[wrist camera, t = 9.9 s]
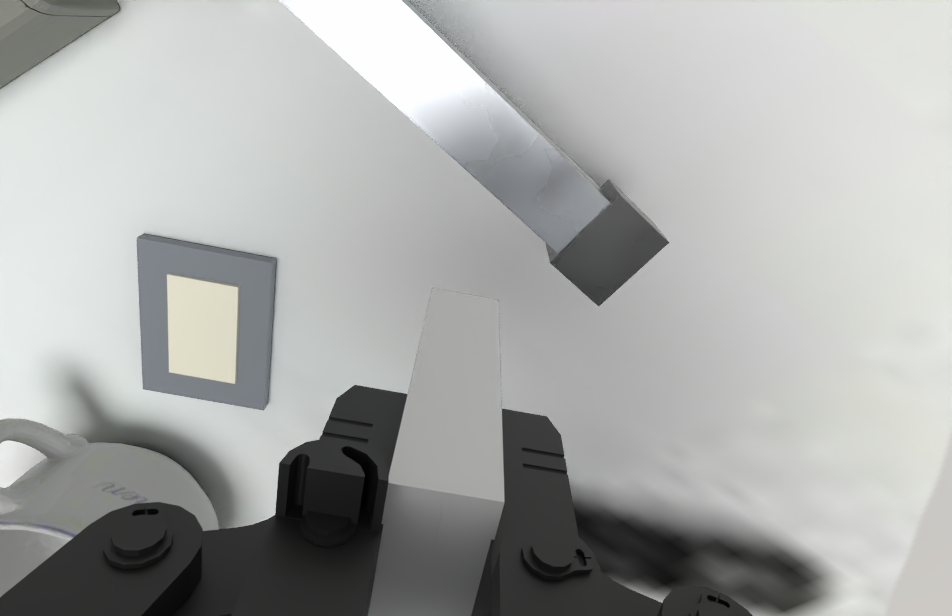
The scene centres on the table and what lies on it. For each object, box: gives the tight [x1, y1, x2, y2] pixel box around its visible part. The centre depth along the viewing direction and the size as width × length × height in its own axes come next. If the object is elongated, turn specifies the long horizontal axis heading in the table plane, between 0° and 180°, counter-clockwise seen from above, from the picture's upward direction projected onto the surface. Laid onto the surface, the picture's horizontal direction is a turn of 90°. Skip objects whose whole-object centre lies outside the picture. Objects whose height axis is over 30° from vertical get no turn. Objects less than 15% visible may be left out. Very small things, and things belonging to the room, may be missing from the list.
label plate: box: [137, 234, 276, 410], centre depth 29 cm, size 8×6×1 cm
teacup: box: [0, 419, 219, 597], centre depth 30 cm, size 14×11×8 cm
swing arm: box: [279, 0, 669, 306], centre depth 19 cm, size 22×4×2 cm, turn 48°
